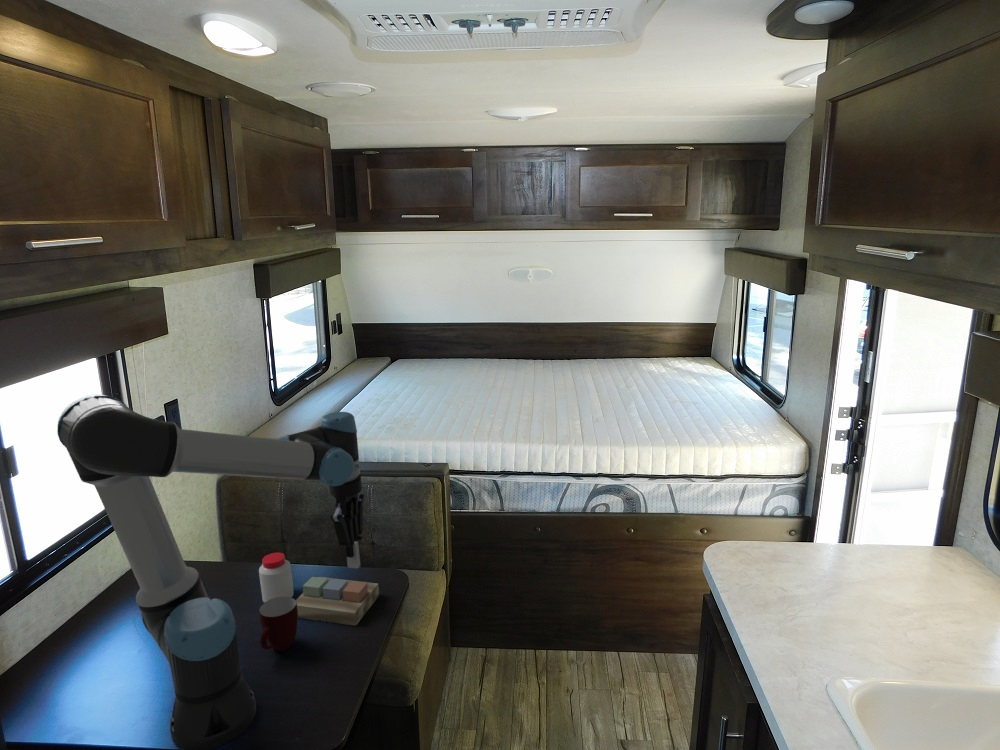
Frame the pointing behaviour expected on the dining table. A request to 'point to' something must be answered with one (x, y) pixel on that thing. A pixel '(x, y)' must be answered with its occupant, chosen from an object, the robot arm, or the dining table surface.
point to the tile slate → (334, 589)
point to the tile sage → (314, 587)
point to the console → (336, 607)
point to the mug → (278, 623)
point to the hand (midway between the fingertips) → (354, 566)
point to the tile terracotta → (355, 592)
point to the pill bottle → (275, 577)
